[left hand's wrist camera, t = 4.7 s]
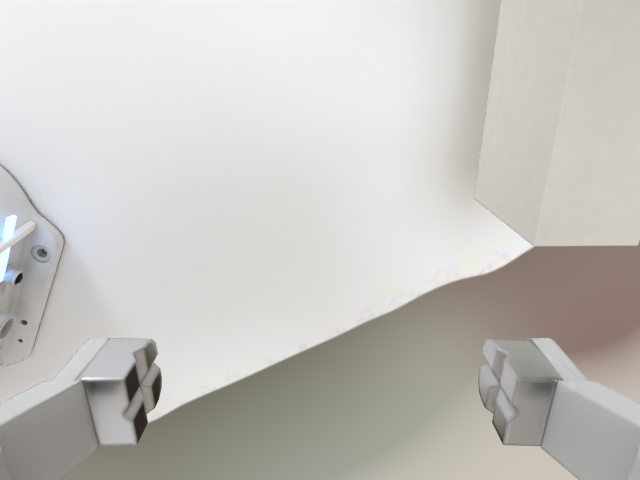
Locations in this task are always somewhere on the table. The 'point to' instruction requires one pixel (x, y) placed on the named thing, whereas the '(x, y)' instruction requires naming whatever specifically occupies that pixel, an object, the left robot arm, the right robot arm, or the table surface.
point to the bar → (564, 122)
